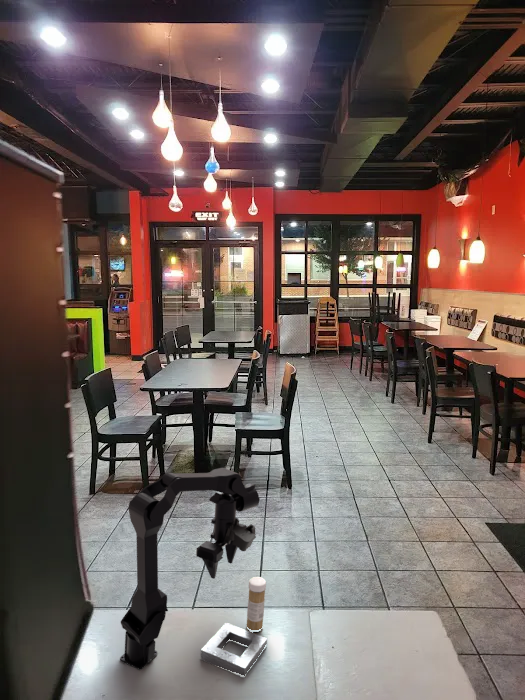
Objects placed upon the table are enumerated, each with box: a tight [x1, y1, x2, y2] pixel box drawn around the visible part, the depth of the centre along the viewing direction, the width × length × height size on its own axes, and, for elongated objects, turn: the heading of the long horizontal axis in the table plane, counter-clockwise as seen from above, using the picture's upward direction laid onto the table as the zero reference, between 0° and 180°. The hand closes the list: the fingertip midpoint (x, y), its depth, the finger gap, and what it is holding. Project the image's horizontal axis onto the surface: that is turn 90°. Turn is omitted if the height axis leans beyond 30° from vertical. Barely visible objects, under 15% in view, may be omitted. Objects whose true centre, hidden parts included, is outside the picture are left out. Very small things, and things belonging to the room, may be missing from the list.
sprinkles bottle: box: [246, 576, 267, 630], centre depth 131 cm, size 5×5×13 cm
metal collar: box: [200, 622, 268, 676], centre depth 122 cm, size 12×12×2 cm
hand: (221, 570), depth 135 cm, fingers open, 9 cm apart
